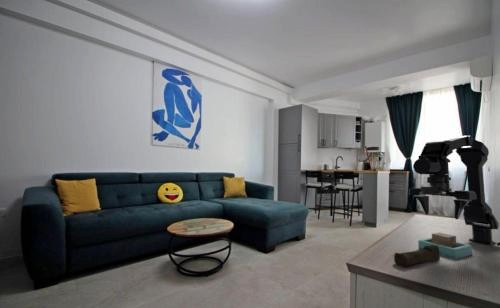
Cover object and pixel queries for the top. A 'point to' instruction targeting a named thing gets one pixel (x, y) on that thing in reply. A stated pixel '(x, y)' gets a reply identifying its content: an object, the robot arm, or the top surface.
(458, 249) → the tray
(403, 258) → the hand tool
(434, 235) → the walnut block
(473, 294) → the top surface
